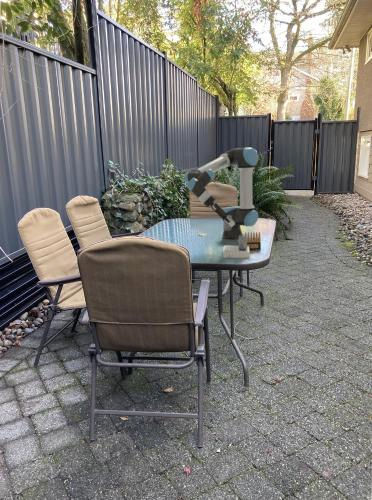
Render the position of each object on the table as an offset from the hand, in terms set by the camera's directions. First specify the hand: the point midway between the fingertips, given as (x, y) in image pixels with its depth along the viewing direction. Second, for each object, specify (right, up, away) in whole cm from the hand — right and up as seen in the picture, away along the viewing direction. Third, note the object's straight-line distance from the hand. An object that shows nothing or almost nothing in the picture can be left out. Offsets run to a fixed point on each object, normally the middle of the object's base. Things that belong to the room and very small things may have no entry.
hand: (233, 224), depth 242 cm
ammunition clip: (+14, -16, +9) cm, 23 cm away
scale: (+2, -19, -1) cm, 19 cm away
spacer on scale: (+5, -16, -6) cm, 17 cm away
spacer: (-4, -3, +1) cm, 5 cm away
